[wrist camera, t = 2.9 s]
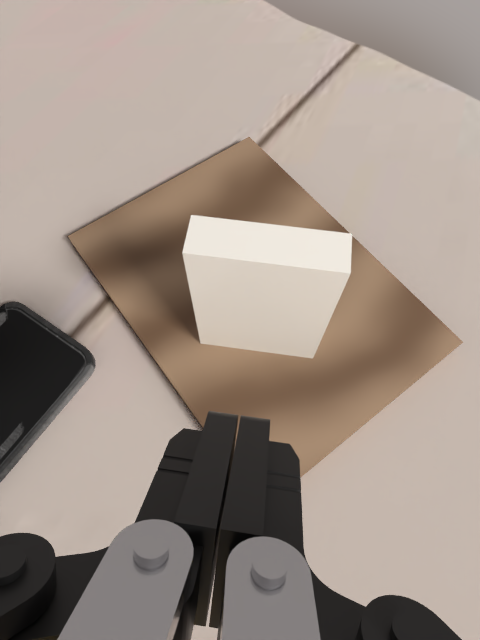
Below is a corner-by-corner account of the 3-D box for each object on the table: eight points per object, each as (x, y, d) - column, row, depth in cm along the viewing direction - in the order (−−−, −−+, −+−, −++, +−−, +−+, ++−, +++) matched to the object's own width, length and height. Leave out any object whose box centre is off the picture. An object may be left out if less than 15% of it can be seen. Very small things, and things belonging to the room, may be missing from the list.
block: (312, 358, 27) (350, 273, 18) (200, 343, 27) (182, 252, 18) (315, 328, 28) (352, 232, 19) (206, 314, 28) (191, 213, 19)
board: (72, 244, 32) (67, 236, 31) (248, 146, 36) (249, 136, 35) (261, 510, 24) (261, 509, 23) (455, 348, 28) (463, 342, 28)
